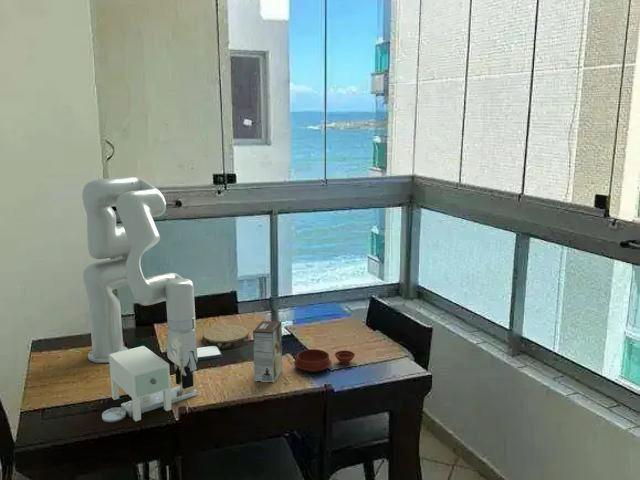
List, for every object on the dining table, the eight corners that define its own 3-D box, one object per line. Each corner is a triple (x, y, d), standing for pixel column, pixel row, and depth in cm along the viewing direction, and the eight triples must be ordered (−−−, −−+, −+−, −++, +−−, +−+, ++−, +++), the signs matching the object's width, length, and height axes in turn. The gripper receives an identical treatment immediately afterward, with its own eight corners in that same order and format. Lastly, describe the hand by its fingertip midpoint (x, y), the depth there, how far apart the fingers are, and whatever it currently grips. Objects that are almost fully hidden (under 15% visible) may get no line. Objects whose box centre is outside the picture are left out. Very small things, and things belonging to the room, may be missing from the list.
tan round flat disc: (257, 338, 210) (257, 330, 209) (228, 352, 197) (227, 344, 196) (223, 329, 218) (223, 321, 218) (193, 343, 205) (192, 335, 204)
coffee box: (262, 369, 184) (262, 320, 180) (282, 370, 182) (282, 321, 179) (253, 381, 175) (252, 330, 171) (274, 383, 174) (273, 332, 170)
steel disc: (98, 416, 155) (98, 412, 155) (121, 409, 159) (121, 405, 158) (106, 425, 150) (106, 421, 150) (129, 418, 154) (129, 413, 154)
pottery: (289, 364, 187) (288, 351, 187) (346, 355, 195) (346, 342, 194) (301, 379, 177) (301, 365, 176) (361, 368, 184) (362, 355, 183)
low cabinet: (112, 398, 164) (108, 354, 162) (146, 387, 171) (143, 345, 168) (138, 423, 151) (134, 376, 148) (174, 411, 157) (171, 366, 154)
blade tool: (121, 408, 159) (118, 373, 156) (187, 387, 171) (185, 355, 169) (130, 417, 154) (127, 381, 152) (197, 395, 166) (195, 361, 164)
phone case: (217, 349, 201) (169, 355, 195) (217, 344, 200) (169, 350, 194) (222, 359, 193) (172, 365, 187) (222, 354, 192) (172, 360, 186)
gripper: (156, 318, 167) (159, 379, 170) (182, 334, 154) (186, 399, 158) (180, 313, 171) (183, 372, 175) (208, 328, 159) (210, 391, 163)
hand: (184, 384), depth 166 cm, fingers closed on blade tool, 3 cm apart
